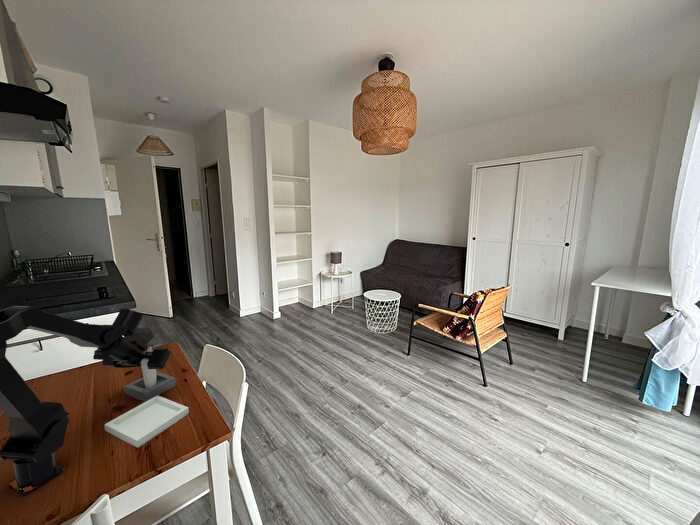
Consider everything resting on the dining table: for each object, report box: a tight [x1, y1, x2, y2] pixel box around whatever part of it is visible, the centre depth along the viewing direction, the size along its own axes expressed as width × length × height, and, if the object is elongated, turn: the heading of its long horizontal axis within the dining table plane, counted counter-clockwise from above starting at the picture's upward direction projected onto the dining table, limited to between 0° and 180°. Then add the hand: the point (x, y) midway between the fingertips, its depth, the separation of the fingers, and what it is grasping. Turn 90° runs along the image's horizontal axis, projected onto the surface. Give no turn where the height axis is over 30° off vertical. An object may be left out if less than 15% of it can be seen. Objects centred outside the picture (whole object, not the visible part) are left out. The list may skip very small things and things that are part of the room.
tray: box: [104, 395, 190, 449], centre depth 79 cm, size 14×14×2 cm
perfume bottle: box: [140, 346, 158, 390], centre depth 93 cm, size 5×4×15 cm
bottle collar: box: [124, 370, 176, 403], centre depth 93 cm, size 10×10×3 cm
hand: (152, 365), depth 94 cm, fingers open, 7 cm apart
